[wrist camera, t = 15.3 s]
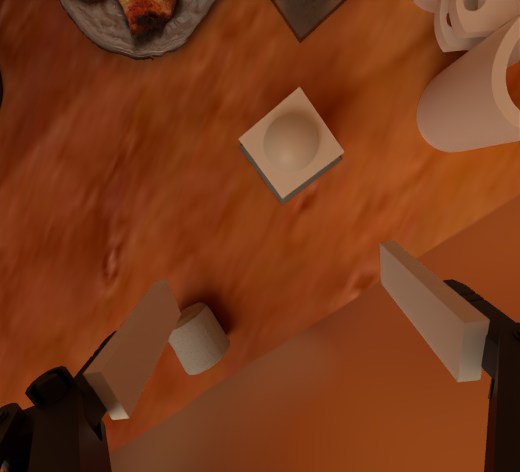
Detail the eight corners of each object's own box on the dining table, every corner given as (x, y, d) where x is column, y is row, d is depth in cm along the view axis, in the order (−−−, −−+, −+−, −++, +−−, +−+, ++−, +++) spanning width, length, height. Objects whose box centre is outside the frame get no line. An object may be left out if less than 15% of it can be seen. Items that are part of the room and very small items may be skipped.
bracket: (393, -59, 28) (468, -233, 16) (488, -96, 26) (647, -318, 15) (421, 161, 33) (495, 149, 21) (503, 140, 31) (634, 115, 19)
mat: (239, 147, 35) (239, 147, 34) (297, 98, 33) (297, 97, 32) (282, 204, 36) (282, 204, 35) (341, 159, 34) (341, 159, 33)
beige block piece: (250, 148, 34) (236, 137, 26) (297, 109, 32) (299, 82, 24) (284, 195, 35) (282, 199, 26) (331, 159, 33) (346, 150, 25)
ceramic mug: (210, 292, 40) (191, 318, 33) (235, 333, 41) (222, 366, 34) (160, 317, 43) (132, 346, 35) (185, 355, 44) (163, 391, 36)
